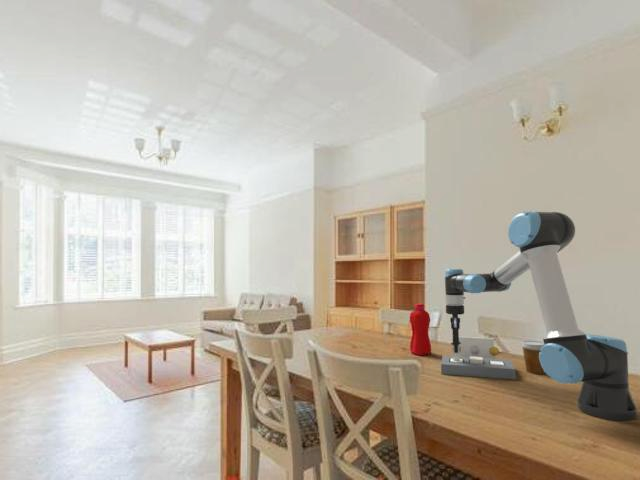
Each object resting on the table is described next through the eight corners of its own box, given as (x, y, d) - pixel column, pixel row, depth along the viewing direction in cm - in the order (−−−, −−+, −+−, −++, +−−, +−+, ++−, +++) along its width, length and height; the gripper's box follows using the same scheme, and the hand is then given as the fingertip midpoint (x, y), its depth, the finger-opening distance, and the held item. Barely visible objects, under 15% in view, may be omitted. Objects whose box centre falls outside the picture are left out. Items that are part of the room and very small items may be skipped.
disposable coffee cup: (552, 375, 164) (551, 345, 165) (529, 375, 164) (527, 345, 165) (540, 368, 173) (539, 340, 174) (518, 368, 174) (517, 340, 174)
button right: (504, 372, 165) (504, 364, 165) (491, 371, 166) (490, 364, 167) (503, 369, 170) (502, 361, 170) (490, 368, 171) (490, 361, 171)
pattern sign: (499, 365, 180) (498, 339, 180) (452, 361, 186) (451, 336, 187) (498, 361, 186) (497, 336, 186) (452, 358, 192) (451, 334, 193)
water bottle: (404, 352, 206) (403, 303, 207) (423, 350, 210) (422, 302, 211) (414, 356, 197) (413, 305, 199) (433, 354, 201) (432, 304, 202)
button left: (462, 369, 170) (462, 362, 170) (450, 368, 172) (450, 361, 172) (462, 366, 175) (462, 359, 175) (450, 365, 176) (450, 358, 176)
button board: (515, 379, 158) (515, 369, 159) (441, 373, 167) (441, 364, 168) (510, 368, 174) (510, 359, 174) (442, 364, 183) (442, 355, 183)
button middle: (483, 367, 167) (483, 360, 168) (470, 366, 169) (470, 359, 169) (482, 364, 172) (482, 357, 172) (470, 363, 174) (469, 356, 174)
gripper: (464, 306, 167) (465, 364, 166) (463, 303, 179) (465, 356, 178) (445, 306, 169) (446, 362, 168) (446, 302, 182) (447, 355, 181)
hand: (456, 359), depth 173 cm, fingers closed
